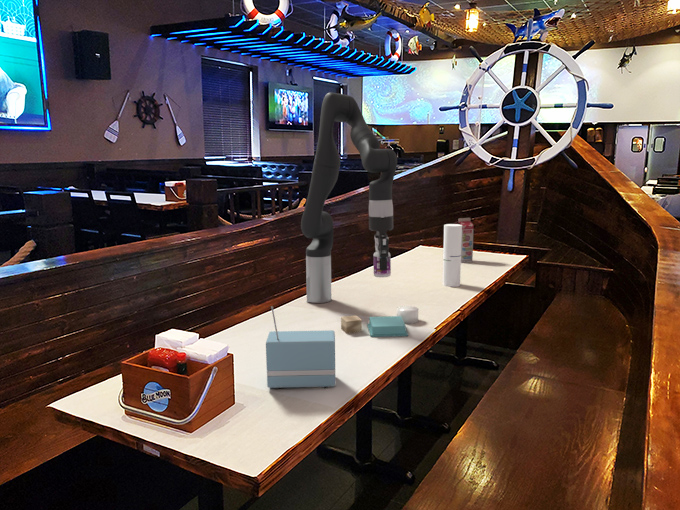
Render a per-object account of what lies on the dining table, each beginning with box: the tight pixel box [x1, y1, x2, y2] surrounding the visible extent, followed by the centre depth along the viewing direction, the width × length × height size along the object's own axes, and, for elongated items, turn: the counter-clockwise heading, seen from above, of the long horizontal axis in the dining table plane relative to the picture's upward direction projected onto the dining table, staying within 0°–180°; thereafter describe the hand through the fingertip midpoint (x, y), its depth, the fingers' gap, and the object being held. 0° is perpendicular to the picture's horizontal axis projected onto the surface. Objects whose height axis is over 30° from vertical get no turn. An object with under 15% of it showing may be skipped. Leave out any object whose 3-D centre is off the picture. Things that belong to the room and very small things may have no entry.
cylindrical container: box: [442, 223, 462, 288], centre depth 221 cm, size 7×7×25 cm
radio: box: [265, 306, 336, 390], centre depth 127 cm, size 16×9×20 cm, turn 91°
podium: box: [367, 315, 409, 338], centre depth 165 cm, size 11×11×3 cm
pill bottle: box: [372, 246, 392, 278], centre depth 168 cm, size 5×5×10 cm
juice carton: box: [455, 217, 474, 264], centre depth 270 cm, size 7×7×22 cm
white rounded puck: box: [396, 305, 419, 325], centre depth 175 cm, size 7×7×4 cm
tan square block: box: [340, 315, 363, 335], centre depth 166 cm, size 5×5×4 cm
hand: (382, 268), depth 168 cm, fingers closed on pill bottle, 5 cm apart
